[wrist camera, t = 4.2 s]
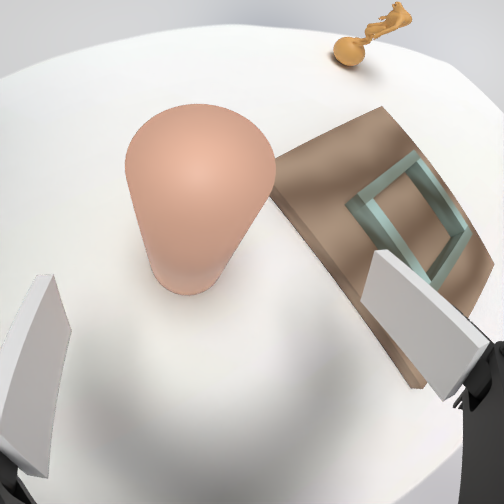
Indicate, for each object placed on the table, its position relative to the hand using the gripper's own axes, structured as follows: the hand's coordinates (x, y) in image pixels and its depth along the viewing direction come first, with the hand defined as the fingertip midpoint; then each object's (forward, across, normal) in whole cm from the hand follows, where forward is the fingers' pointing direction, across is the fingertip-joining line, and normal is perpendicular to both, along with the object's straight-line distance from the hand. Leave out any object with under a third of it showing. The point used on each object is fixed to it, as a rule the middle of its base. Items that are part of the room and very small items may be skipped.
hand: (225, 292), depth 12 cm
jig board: (+10, +18, -3) cm, 21 cm away
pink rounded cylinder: (+9, -1, -4) cm, 10 cm away
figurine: (+26, +20, +13) cm, 35 cm away
